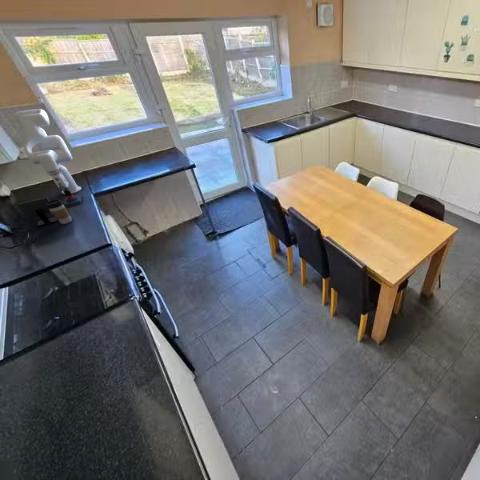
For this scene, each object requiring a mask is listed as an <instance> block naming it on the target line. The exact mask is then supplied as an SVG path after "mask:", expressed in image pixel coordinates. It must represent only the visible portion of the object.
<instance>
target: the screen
mask: <svg viewBox="0 0 480 480" xmlns="http://www.w3.org/2000/svg"><path fill="white" fill-rule="evenodd" d="M49 201H50V198H48V196H47V197H46V196H45V197H41V198H35V199H32V200H27V201H22V202H19V203H18V204H17V206H19V208H20V209H21V211H22V212H23V213H24V214H25V216H27V218H28V219H30V218H34V217H39V216H38V215H37V213H36V212H35V210H37V209H42V210H43V211H44V213H45V214H46V215H47V214H52V213H51V212H50V210H49V209H48V208H47V207H46V203H47V202H49Z"/></svg>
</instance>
